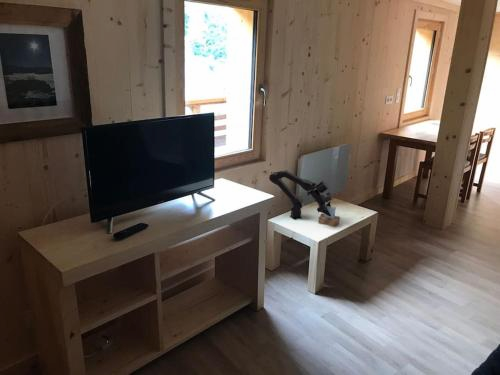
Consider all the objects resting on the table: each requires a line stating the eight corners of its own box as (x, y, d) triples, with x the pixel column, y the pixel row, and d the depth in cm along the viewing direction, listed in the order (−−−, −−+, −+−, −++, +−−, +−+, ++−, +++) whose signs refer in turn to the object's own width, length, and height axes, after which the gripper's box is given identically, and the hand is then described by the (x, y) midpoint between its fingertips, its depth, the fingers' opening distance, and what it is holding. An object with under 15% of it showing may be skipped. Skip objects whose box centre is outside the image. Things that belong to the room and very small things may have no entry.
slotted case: (318, 223, 287) (318, 217, 285) (321, 219, 294) (321, 213, 292) (336, 226, 282) (337, 220, 280) (339, 222, 289) (339, 216, 287)
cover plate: (323, 219, 288) (325, 206, 284) (324, 218, 289) (325, 205, 286) (333, 221, 285) (335, 208, 282) (334, 220, 287) (335, 207, 283)
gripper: (323, 194, 273) (338, 212, 273) (329, 186, 289) (343, 203, 289) (310, 203, 278) (325, 221, 278) (317, 194, 295) (331, 211, 295)
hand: (331, 213), depth 285 cm, fingers open, 7 cm apart
